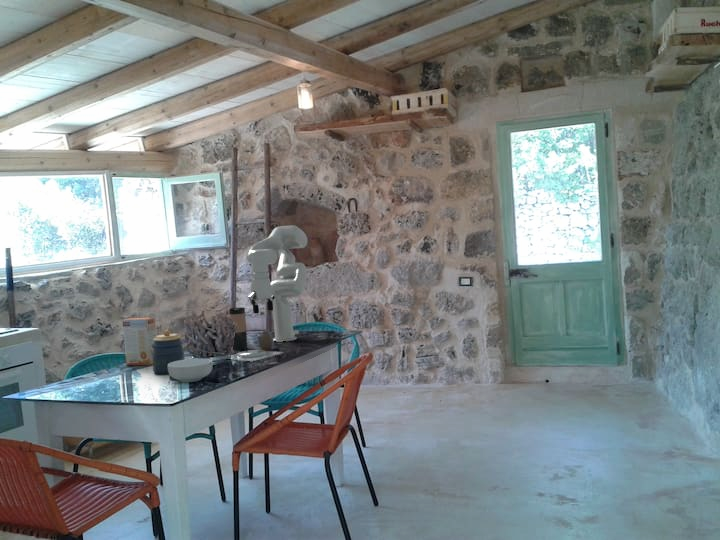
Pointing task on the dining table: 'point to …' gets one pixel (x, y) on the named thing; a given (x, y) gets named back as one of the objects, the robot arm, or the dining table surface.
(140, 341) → the cracker box
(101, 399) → the dining table surface
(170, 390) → the dining table surface
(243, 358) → the flange plate
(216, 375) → the dining table surface
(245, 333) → the travel mug
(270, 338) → the vase
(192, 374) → the cereal bowl
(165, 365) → the canister
